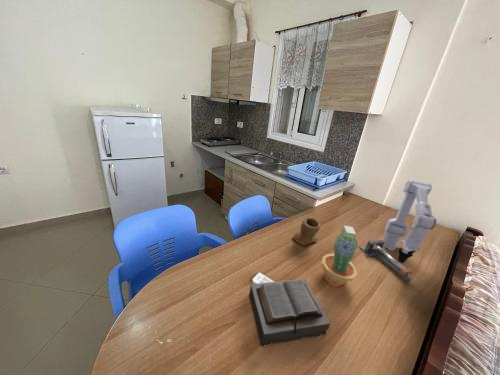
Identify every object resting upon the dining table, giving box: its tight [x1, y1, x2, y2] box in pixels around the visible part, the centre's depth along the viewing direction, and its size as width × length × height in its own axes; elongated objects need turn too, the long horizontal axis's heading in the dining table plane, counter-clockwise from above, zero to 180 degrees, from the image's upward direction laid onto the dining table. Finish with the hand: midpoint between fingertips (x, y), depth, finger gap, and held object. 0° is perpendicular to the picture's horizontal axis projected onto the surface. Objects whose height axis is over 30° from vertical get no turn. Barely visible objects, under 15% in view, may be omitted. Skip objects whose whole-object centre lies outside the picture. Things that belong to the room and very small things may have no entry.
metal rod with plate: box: [375, 245, 414, 276], centre depth 107 cm, size 6×20×3 cm, turn 15°
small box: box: [339, 225, 357, 238], centre depth 119 cm, size 8×6×10 cm
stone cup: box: [292, 217, 321, 246], centre depth 117 cm, size 15×12×15 cm
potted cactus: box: [321, 232, 359, 287], centre depth 90 cm, size 15×15×25 cm
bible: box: [248, 278, 331, 347], centre depth 74 cm, size 23×27×10 cm
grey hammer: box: [358, 239, 412, 284], centre depth 109 cm, size 12×26×7 cm, turn 14°
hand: (403, 259), depth 101 cm, fingers open, 7 cm apart
